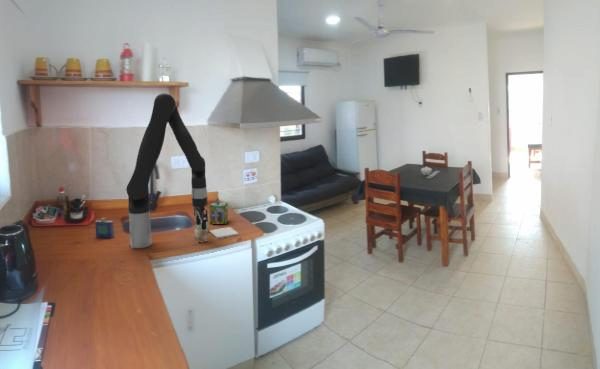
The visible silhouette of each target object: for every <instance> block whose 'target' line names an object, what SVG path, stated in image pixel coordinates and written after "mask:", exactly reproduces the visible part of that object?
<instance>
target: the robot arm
mask: <svg viewBox="0 0 600 369" xmlns="http://www.w3.org/2000/svg"><path fill="white" fill-rule="evenodd" d="M168 125H169V126H170V128H171V130H172V134H173V135H174V138H175V140H176V141H177V144H178V146H179V147H180V149H181V151H182V152H183V154H184V156H185V158H186V161H187V163H188V165H189V167H190V169H191V170H190V172H191V183H190V184H191V204H192V205H191V206H192V207H193V215H194V218H195V225H196V224H197V225H200V224H201V226H202V230H205V229H206V222H208V223H209V219H208V217H209V216H208V210H207V209H205V207H206V206H208V204H209V203H208V188H207V178H206V161H205V158H204V157H202V155H201V153H200V152H199V150H198V147H197V144H196V142H195V140H194V138H193V137H192V135H191V133H190V131H189V130H188V128H187V127H186V125H185V123H184V121H183V119H182V117H181V114H180V113H179V109H178V107H177V102H176V100H175V98H174V97H173V96H172V95H171V94H169V93H165V92H164V93H159V94H157V95H156V96H155V98H154V101H153V108H152V112H151V116H150V120H149V123H148V125H147V127H146V129H145V132H144V133H143V136H142V140H141V142H140V145H139V149H138V153H137V157H136V162H135V166H134V170H133V173H132V175H131V177H130V180H129V182H128V183H127V185H126V188H125V189H126V190H125V191H126V194H127V197H128V207H127V208H128V221H129V222H128V223H129V227H128V229H129V230H128V231H129V242H130V243H129V245H130V247H131V249H133V250H134V249H144V248H148V247H150V246H152V244H153V243H152V230H151V229H152V228H151V213H150V212H151V211H150V210H151V209H150V190H149V185H150V184H149V183H150V179H151V176H152V172H153V171H154V168H155V165H157V161H158V159H159V157H160V155H161V152H162V149H163V145H164V143H165V137H166V130H167V126H168Z"/></svg>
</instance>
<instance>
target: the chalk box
mask: <svg viewBox="0 0 600 369" xmlns="http://www.w3.org/2000/svg"><path fill="white" fill-rule="evenodd" d="M215 201H216V202H214V201H213V202H212V203H211V204H210V205H209V207H208V208H209V224H226V225H227V223H228V222H227V221H229V209H228V208H229V207H228V206H229V205H228V202H223V201H220V198H218V197H217V198H216V200H215Z"/></svg>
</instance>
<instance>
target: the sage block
mask: <svg viewBox="0 0 600 369" xmlns="http://www.w3.org/2000/svg"><path fill="white" fill-rule="evenodd" d="M198 228H202V226H201V224H200V225H197V224H196V223H195V229H198ZM206 230H207V231H208V232H209V221H208V222H206Z"/></svg>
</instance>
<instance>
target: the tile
mask: <svg viewBox="0 0 600 369" xmlns="http://www.w3.org/2000/svg"><path fill="white" fill-rule="evenodd" d="M209 232H211V233H212V234H213V235H214V236H215V237H216V238H221V239H224V238H223V237H227V238H230V237H229V236H233V235H238V234H239V232H238V231H236V230H234V228H232V227H231V226H230V227H229V226H228V227H223V228H215V229H208V233H209ZM211 233H210V234H211ZM212 234H211V235H212ZM213 235H212V236H213ZM239 235H240V234H239ZM239 235H238V236H239ZM214 236H213V237H214ZM215 237H214V238H215ZM233 237H234V236H233ZM216 238H215V239H216Z"/></svg>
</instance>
